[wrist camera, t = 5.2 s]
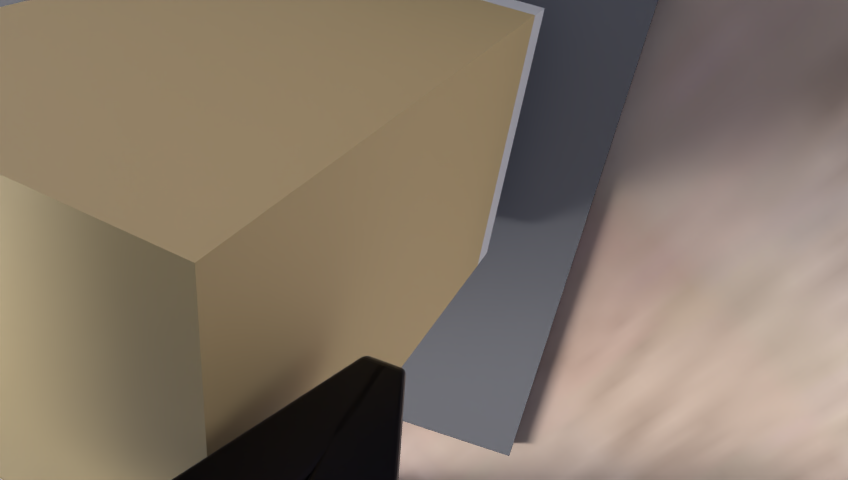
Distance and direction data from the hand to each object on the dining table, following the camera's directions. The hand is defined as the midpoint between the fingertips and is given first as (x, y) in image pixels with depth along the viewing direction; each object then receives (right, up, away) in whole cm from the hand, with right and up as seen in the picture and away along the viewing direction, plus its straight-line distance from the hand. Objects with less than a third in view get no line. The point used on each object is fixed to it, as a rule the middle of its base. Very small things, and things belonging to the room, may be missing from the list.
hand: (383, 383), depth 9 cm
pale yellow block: (0, +5, +7) cm, 9 cm away
